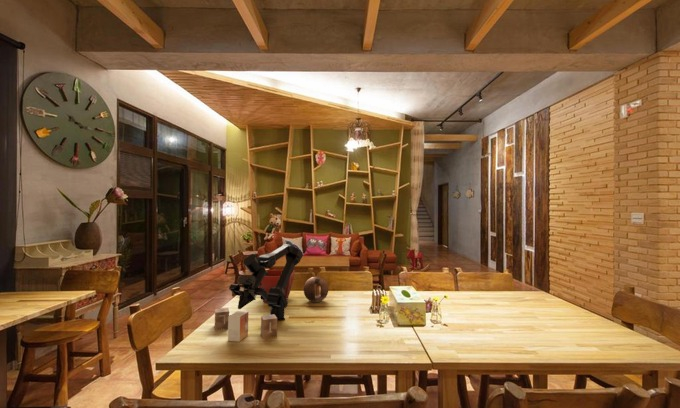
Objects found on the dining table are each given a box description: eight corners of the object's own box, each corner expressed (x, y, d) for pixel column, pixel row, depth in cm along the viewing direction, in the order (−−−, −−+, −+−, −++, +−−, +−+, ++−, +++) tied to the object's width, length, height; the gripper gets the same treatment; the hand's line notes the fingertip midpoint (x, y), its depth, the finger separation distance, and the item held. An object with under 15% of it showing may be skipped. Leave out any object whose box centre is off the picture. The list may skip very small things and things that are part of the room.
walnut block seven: (227, 324, 160) (228, 307, 160) (228, 328, 154) (229, 311, 154) (214, 325, 158) (215, 308, 158) (215, 330, 152) (215, 312, 152)
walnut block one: (274, 331, 151) (274, 314, 152) (276, 336, 146) (277, 318, 146) (260, 333, 149) (261, 315, 149) (263, 338, 143) (263, 320, 144)
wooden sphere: (306, 297, 209) (307, 274, 210) (330, 299, 207) (330, 275, 208) (300, 304, 195) (301, 278, 195) (325, 306, 192) (326, 280, 193)
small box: (239, 342, 139) (240, 317, 139) (227, 340, 140) (227, 315, 140) (248, 335, 147) (248, 311, 147) (236, 334, 148) (237, 310, 148)
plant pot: (289, 305, 192) (289, 276, 192) (256, 304, 192) (257, 275, 193) (294, 296, 211) (294, 270, 212) (264, 296, 212) (264, 269, 212)
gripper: (232, 266, 153) (212, 295, 143) (264, 270, 145) (246, 301, 135) (243, 280, 160) (226, 309, 150) (275, 284, 152) (259, 315, 142)
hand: (238, 308), depth 144 cm, fingers closed
